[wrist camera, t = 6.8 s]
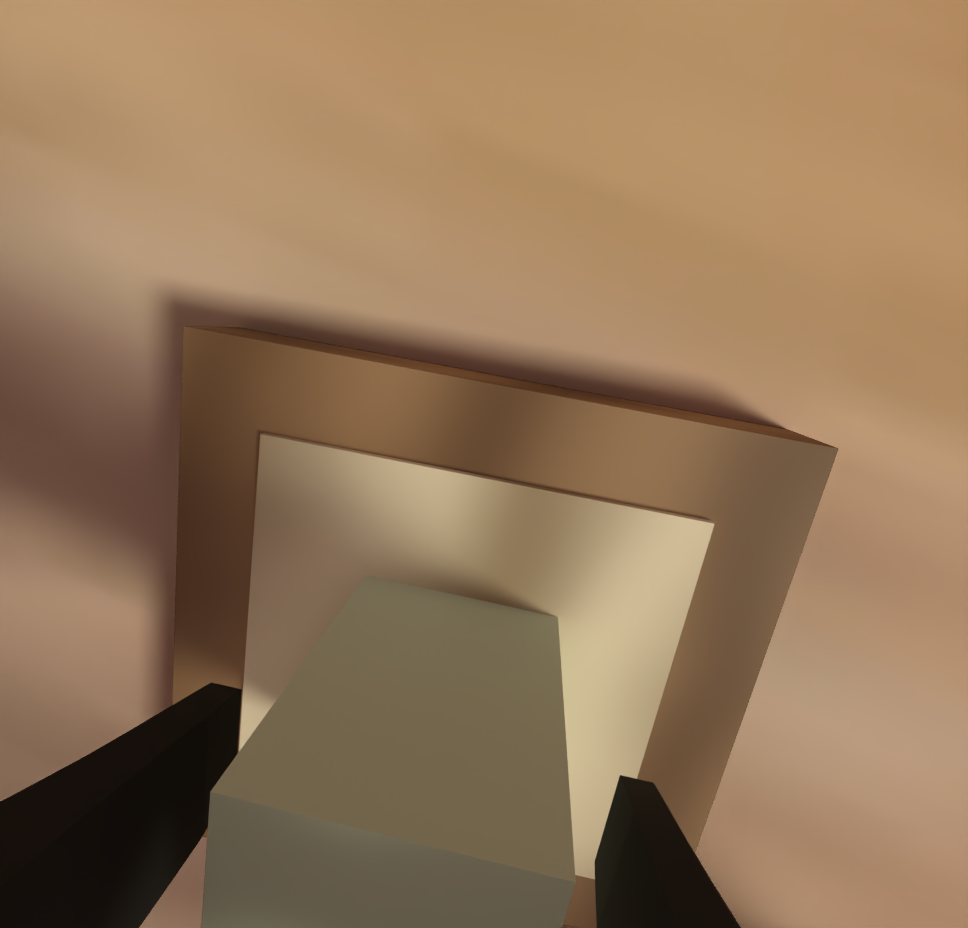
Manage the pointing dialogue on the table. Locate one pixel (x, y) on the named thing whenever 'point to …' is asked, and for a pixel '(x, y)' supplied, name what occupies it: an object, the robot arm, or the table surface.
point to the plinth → (492, 543)
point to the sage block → (403, 776)
